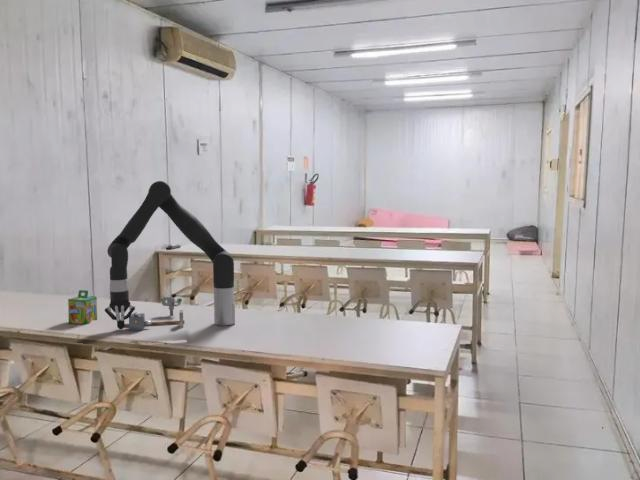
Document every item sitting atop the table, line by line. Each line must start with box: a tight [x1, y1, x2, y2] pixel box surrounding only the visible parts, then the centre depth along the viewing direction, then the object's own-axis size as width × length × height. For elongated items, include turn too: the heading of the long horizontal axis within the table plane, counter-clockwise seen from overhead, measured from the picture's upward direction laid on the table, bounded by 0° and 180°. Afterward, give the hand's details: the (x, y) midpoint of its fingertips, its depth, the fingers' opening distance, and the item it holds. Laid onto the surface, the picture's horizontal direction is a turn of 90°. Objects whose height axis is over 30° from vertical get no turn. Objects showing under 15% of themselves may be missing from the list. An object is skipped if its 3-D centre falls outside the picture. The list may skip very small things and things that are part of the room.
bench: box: [124, 309, 185, 329], centre depth 232 cm, size 26×10×8 cm, turn 104°
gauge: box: [128, 311, 153, 332], centre depth 229 cm, size 9×8×7 cm
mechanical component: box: [160, 296, 183, 317], centre depth 254 cm, size 3×10×10 cm, turn 79°
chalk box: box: [67, 289, 98, 325], centre depth 247 cm, size 9×9×15 cm
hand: (120, 328), depth 229 cm, fingers closed
